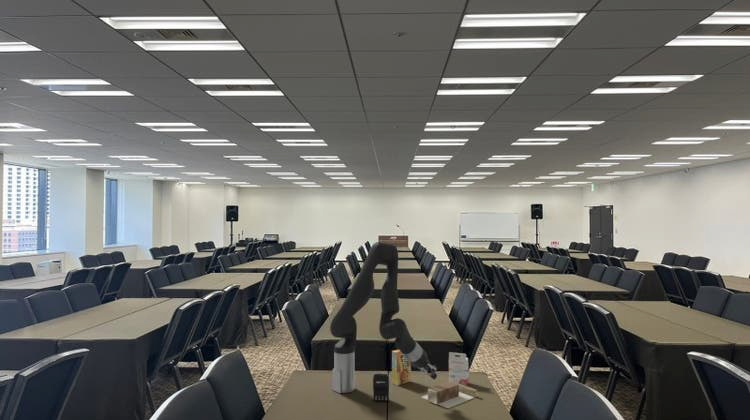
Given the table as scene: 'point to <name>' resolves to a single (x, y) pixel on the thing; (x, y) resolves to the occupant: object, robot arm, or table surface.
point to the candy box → (400, 368)
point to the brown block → (443, 392)
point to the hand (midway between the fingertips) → (434, 377)
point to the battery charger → (381, 387)
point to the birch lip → (467, 390)
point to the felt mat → (453, 400)
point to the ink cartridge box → (458, 368)
